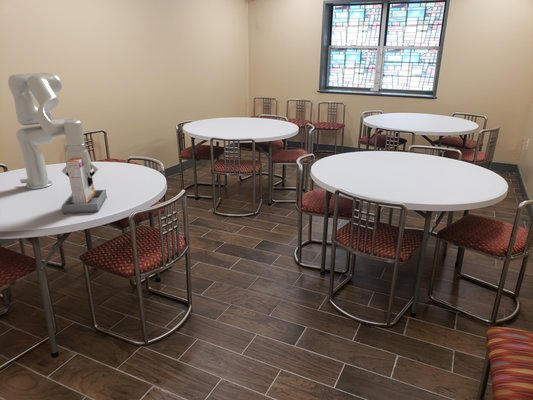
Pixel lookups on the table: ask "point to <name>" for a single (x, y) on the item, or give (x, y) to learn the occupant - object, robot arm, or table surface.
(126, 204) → the table surface
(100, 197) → the tray
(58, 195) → the table surface
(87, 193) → the cracker box
